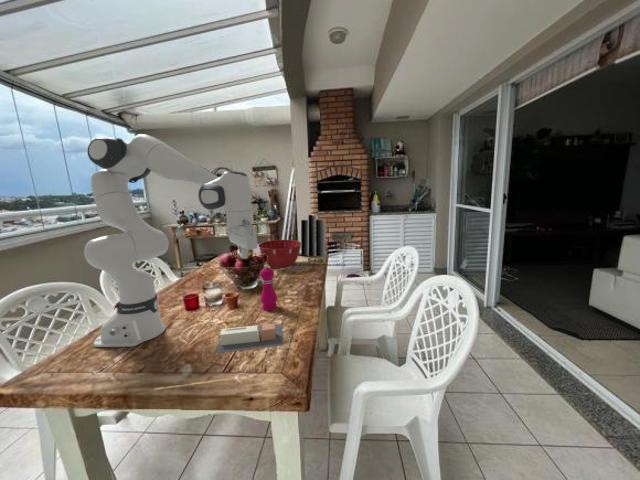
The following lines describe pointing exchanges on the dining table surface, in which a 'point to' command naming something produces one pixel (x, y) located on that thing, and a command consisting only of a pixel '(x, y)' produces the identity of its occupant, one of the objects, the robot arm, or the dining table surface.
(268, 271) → the pepper mill
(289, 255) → the mixing bowl
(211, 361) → the dining table surface
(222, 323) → the dining table surface
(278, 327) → the slate mat
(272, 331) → the stub
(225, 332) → the pale green slotted block
